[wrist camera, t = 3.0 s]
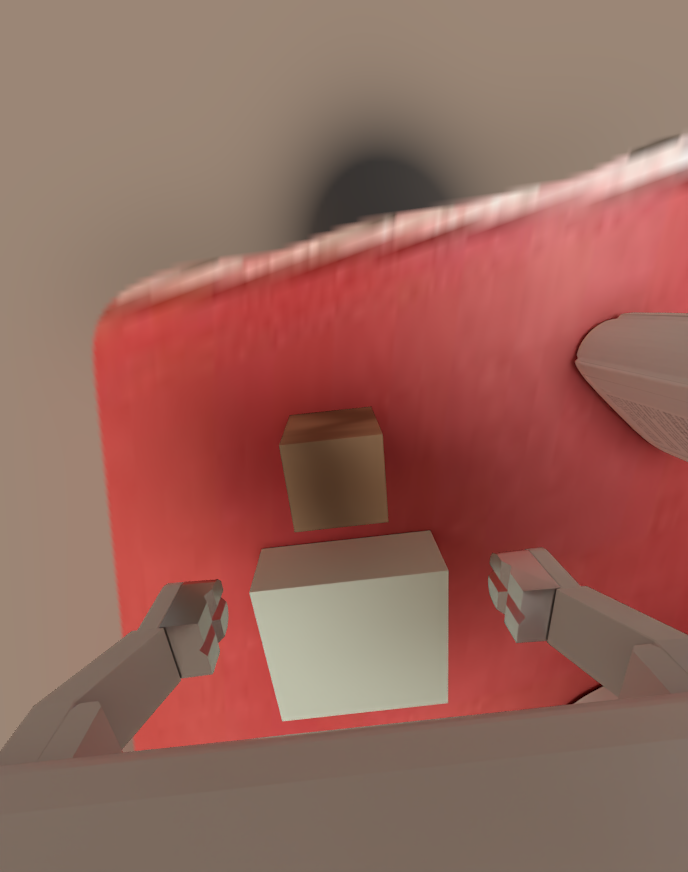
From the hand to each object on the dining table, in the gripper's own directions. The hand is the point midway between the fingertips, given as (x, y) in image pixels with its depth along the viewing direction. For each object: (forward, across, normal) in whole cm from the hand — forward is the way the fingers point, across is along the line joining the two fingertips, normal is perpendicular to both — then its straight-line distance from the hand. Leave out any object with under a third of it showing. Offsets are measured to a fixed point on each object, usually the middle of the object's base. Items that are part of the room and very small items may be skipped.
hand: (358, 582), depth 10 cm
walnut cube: (+12, 0, 0) cm, 12 cm away
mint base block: (+12, 0, +14) cm, 18 cm away
